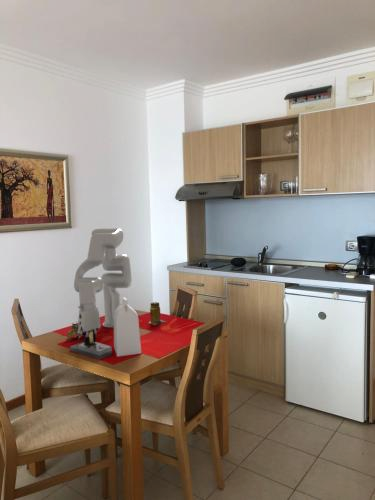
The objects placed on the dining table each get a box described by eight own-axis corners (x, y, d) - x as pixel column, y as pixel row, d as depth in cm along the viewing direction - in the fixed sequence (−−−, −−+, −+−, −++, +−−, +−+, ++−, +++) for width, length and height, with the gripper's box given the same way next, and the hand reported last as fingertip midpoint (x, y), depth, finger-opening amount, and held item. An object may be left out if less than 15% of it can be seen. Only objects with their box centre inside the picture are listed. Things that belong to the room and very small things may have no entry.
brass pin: (86, 347, 202) (85, 329, 201) (92, 345, 204) (91, 328, 203) (88, 349, 200) (87, 330, 199) (94, 347, 201) (93, 329, 200)
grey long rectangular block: (70, 350, 206) (69, 341, 205) (82, 345, 212) (82, 337, 211) (99, 359, 192) (99, 350, 192) (111, 354, 198) (111, 345, 198)
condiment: (147, 322, 250) (147, 303, 249) (159, 319, 255) (158, 300, 254) (154, 325, 244) (153, 305, 243) (166, 322, 249) (165, 302, 248)
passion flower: (84, 345, 229) (97, 326, 229) (78, 348, 218) (91, 329, 219) (68, 333, 230) (80, 315, 230) (61, 336, 219) (74, 317, 219)
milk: (141, 353, 199) (138, 300, 196) (117, 356, 196) (114, 302, 193) (137, 345, 210) (134, 295, 207) (114, 348, 207) (111, 297, 204)
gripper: (79, 311, 191) (81, 349, 193) (106, 303, 204) (108, 339, 206) (68, 308, 195) (71, 346, 197) (96, 301, 208) (98, 337, 210)
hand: (90, 342), depth 202 cm, fingers closed on brass pin, 3 cm apart
